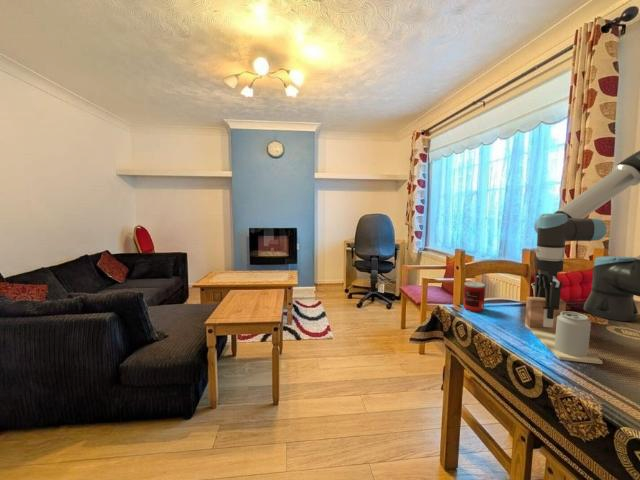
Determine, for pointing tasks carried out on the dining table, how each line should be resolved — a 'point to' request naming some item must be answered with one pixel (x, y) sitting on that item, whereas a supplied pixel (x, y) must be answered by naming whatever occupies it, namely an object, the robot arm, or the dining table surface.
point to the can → (572, 334)
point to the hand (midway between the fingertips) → (544, 323)
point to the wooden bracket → (550, 329)
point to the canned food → (474, 296)
